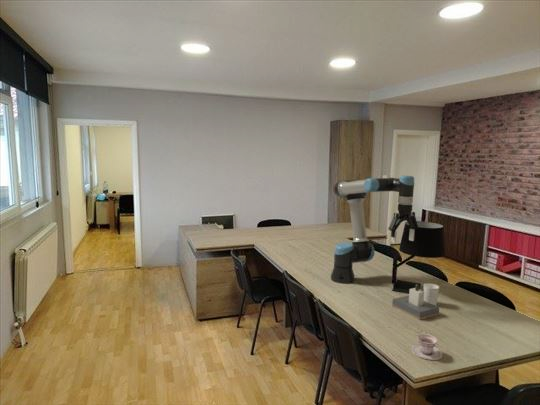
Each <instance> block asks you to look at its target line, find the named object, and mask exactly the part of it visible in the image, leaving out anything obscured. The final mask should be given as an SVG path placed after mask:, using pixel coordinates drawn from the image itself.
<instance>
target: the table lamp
mask: <svg viewBox="0 0 540 405" xmlns="http://www.w3.org/2000/svg"><path fill="white" fill-rule="evenodd" d="M416 221H417V224H418V228H417V230H415V235H414V241H410V240H409V233H410V229H411V227H410V225H409V224H408V222H407V221H404V227H403V230H402V235H401V240H400V244H399V248H398V249H399V251H397V252H396V254H395V255H394V256H393V258H392V269H391V270H392V272H391V273H392V274H391V284H392V290H391V291H392V292H396V293H400V294H401V293H402V294H408V295H409V291H410V289H412V288H416V284H418V285H419V290H421V284H422V283H419V282H415V281H408V280H404V279H403V280H401V279H397V273H398V268H399V267H401V266H402V265H403V264H405V263H407V262H409V261H410V260H411V259H414V258H415V257H419V258H427V259H438V258H443V257H445V256H446V246H445V245H446V244H445V229H444V225H443V224H440V223H437V222H432V221H431V222H430V221H423V220H422V221H421V220H416ZM399 252H401V253H403V254H406V255H408V257H407V258H405V259H403V260H402V261H400V262H398V261H399V260H398V259H399Z"/></svg>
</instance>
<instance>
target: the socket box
mask: <svg viewBox="0 0 540 405" xmlns="http://www.w3.org/2000/svg"><path fill="white" fill-rule="evenodd" d="M392 307H393V308H395V309H397V310H399V311H401V312H402V313H405V314H407V315H409V316H411V317H413V318H414V319H415V318H416V319H417V320H418V321H419V320H424V319H428V318H430V317H435V316H439V315H440V307H439V306H437V305H433V304H431V303H429V302H426V301H424V303H423V305H422V306H418V307H417V306H415V305H413V304H411V303H409V295H404V296H400V297H395V298H392Z"/></svg>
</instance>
